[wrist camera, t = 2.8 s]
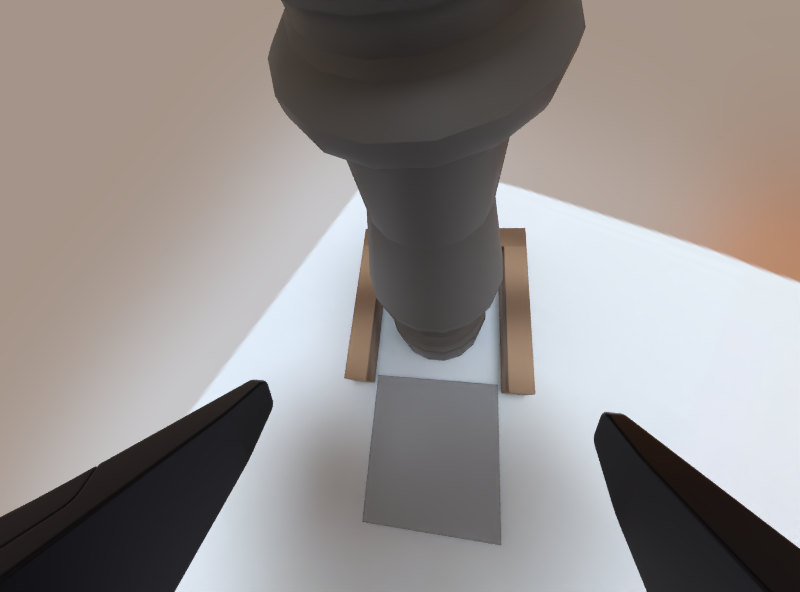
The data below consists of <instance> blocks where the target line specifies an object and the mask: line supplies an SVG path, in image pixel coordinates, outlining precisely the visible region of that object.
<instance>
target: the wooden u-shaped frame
mask: <svg viewBox="0 0 800 592" xmlns="http://www.w3.org/2000/svg"><path fill="white" fill-rule="evenodd" d="M499 233H500V240H501V247H502V258H503V280H502V282H501V284H500V287H499V305H500V345H501V386H502V393H505V394H517V395H533V394H535V382H534V366H533V349H532V332H531V316H530V299H529V283H528V266H527V249H526V233H525V228H499ZM382 312H383V305H382V304H381V303H380V302H379V301H378V299H377V298H376V295H375V291H374V288H373V284H372V281H371V277H370V267H369V243H368V229H366V232H365V239H364V246H363V253H362V260H361V267H360V274H359V280H358V287H357V294H356V301H355V308H354V315H353V322H352V329H351V335H350V342H349V349H348V356H347V363H346V370H345V377H344V378H346V379H350V380H355V381H366V382H375V374H376V365H377V356H378V347H379V338H380V330H381V321H382Z"/></svg>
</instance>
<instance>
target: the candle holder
mask: <svg viewBox="0 0 800 592" xmlns="http://www.w3.org/2000/svg"><path fill="white" fill-rule="evenodd" d="M281 1H282V2H283V4H284V7H285V9H284V12H283V15H282V17H281V20H280V23H279V25H278V28H277V31H276V33H275V36H274V39H273V42H272V45H271V48H270V52H269V56H268V61H269V67H270V71H271V77H272V82H273V87H274V92H275V96H276V98H277V100H278V102H279V103H280V105H281V107H282V109H283V110H284V112H285V113H286V115H287V116H288V117H289V118H290V119H291V120H292V121H293V122H294V123H295V124H296V125H297V126H298V127H299V128H300V129H301V130H302V131H303V132H304V133H305V134H306V135H307V136H308V137H309V138H310V139H311V140H312V141H313V142H314V143H315V144H316V145H317V146H318V147H319V148H320V149H321V150H322V151H323V152H325V153H327V154H330V155H333V156H336V157H339V158H342V159H345V160H347V163H348V165H349V167H350V170H351V172H352V175H353V177H354V180H355V182H356V184H357V186H358V189H359V192H360V194H361V197H362V199H363V201H364V204H365V206H366V209H367V223H368V243H369V267H370V277H371V281H372V284H373V288H374V291H375V295H376V298H377V299H378V301H379V302H380V303H381V304H382V305H383V307H384V308H385V309H386V310H387V311H388V313H389V314H390V315H391V316H392V317H393V319H394V320H395V324H396V327H397V330H398V332H399V333H400V334H401V336H402V337H403V339H404V340H405V341H406V343H407V344H408V345H409V346H410V347H411V349H412V350H413V351H414V352H416V353H418V354H420V355H422V356H423V357H425V358H427V359H434V360H448V359H451V358H454V357H457V356H460V355H462V354H463V353H464V352H465V351H466V350H467V349H469V348H470V347H471V346H472V345H473V343H474V341H475V339H476V337H477V335H478V333H479V331H480V329H481V326H482V324H483V322H484V320H485V311H486V310H487V309H488V308H490V306H491V304H492V302H493V299H494V297H495V295H496V293H497V291H498V289H499V287H500V284H501V282H502V280H503V258H502V247H501V240H500V233H499V224H498V215H497V207H496V198H495V195H496V191H497V187H498V183H499V179H500V175H501V171H502V166H503V162H504V158H505V154H506V149H507V145H508V142H509V137H510V136H511V135H512V134H513V133H515V132H516V131H517V130H519V129H520V128H521V127H522V126H524V125H525V124H526V123H528V122H529V121H530V120H531V119H533V118H534V117H535V116H537V115H538V114H539V113H540V112H542V111H543V110H544V109H545V108H546V107H547V105H548V104H549V102H550V101H551V99H552V97H553V96H554V94H555V92H556V90H557V88H558V85H559V84H560V82H561V80H562V78H563V76H564V74H565V72H566V70H567V68H568V66H569V64H570V62H571V60H572V58H573V56H574V54H575V52H576V50H577V48H578V46H579V43H580V41H581V38H582V35H583V33H584V30H585V20H584V14H583V8H582V1H581V0H281Z"/></svg>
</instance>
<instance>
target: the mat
mask: <svg viewBox="0 0 800 592" xmlns="http://www.w3.org/2000/svg"><path fill="white" fill-rule="evenodd" d="M362 522H367V523H373V524H379V525H385V526H391V527H397V528H403V529H408V530H414V531H420V532H426V533H432V534H438V535H444V536H450V537H456V538H462V539H467V540H473V541H479V542H485V543H491V544H497V545H501V522H500V473H499V425H498V385H492V384H480V383H467V382H455V381H443V380H431V379H419V378H406V377H394V376H382V375H378V384H377V393H376V402H375V411H374V420H373V430H372V439H371V448H370V457H369V466H368V476H367V485H366V494H365V503H364V512H363V521H362Z"/></svg>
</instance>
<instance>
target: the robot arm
mask: <svg viewBox="0 0 800 592" xmlns="http://www.w3.org/2000/svg"><path fill="white" fill-rule="evenodd" d="M272 407H273V400H272V396H271V393H270V390H269V387H268V384H267V382H266V381H263V380H250V381H248V382H246V383H245V384H243V385H241V386H239V387H237V388H236V389H234V390H232V391H230V392H228V393H227V394H225V395H223V396H221V397H219V398H218V399H216V400H214V401H212V402H210V403H209V404H207V405H205V406H203V407H201V408H200V409H198V410H196V411H194V412H192V413H191V414H189V415H187V416H185V417H183V418H182V419H180V420H178V421H176V422H174V423H173V424H171V425H169V426H167V427H166V428H164V429H162V430H160V431H158V432H157V433H155V434H153V435H151V436H149V437H148V438H146V439H144V440H142V441H140V442H138V443H137V444H135V445H133V446H131V447H130V448H128V449H126V450H124V451H122V452H121V453H119V454H117V455H115V456H113V457H111V458H110V459H108V460H106V461H104V462H102V463H101V464H99V465H98V467H93V468H92V469H90V470H88V471H86V472H84V473H83V474H81V475H79V476H77V477H76V478H74V479H72V480H70V481H68V482H66V483H65V484H63V485H61V486H59V487H57V488H55V489H54V490H52V491H50V492H48V493H46V494H44V495H42V496H40V497H39V498H37V499H35V500H33V501H31V502H29V503H27V504H25V505H23V506H21V507H20V508H17V509H15V510H13V511H11V512H9V513H7V514H5V515H4V516H2V517H0V592H175V590H176V588H177V587H178V585H179V583H180V581H181V579H182V578H183V576H184V574H185V572H186V571H187V569H188V567H189V565H190V564H191V562H192V560H193V558H194V556H195V555H196V553H197V551H198V549H199V548H200V546H201V544H202V542H203V541H204V539H205V537H206V535H207V533H208V532H209V530H210V528H211V526H212V525H213V523H214V521H215V519H216V518H217V516H218V514H219V512H220V510H221V509H222V507H223V505H224V503H225V502H226V500H227V498H228V496H229V495H230V493H231V491H232V489H233V487H234V486H235V484H236V482H237V480H238V479H239V477H240V475H241V473H242V472H243V470H244V468H245V466H246V464H247V462H248V460H249V458H250V456H251V454H252V452H253V450H254V448H255V446H256V443H257V441H258V439H259V437H260V435H261V432H262V430H263V428H264V426H265V424H266V421H267V419H268V417H269V415H270V412H271V410H272ZM594 444H595V448H596V451H597V454H598V458H599V461H600V464H601V468H602V471H603V475H604V478H605V481H606V485H607V488H608V491H609V495H610V498H611V501H612V505H613V508H614V511H615V514H616V516H617V519H618V522H619V524H620V527H621V529H622V532H623V534H624V537H625V539H626V542H627V544H628V546H629V549H630V551H631V554H632V556H633V559H634V561H635V564H636V566H637V569H638V571H639V574H640V576H641V578H642V581H643V583H644V586H645V588H646V591H647V592H800V548H798V547H797V546H796V545H794V544H793V543H792V542H790V541H789V540H788V539H787V538H785V537H784V536H783V535H781V534H780V533H779V532H777V531H776V530H775V529H773V528H772V527H771V526H770V525H768V524H767V523H766V522H764V521H763V520H762V519H760V518H759V517H758V516H756V515H755V514H754V513H753V512H751V511H750V510H749V509H747V508H746V507H745V506H743V505H742V504H741V503H739V502H738V501H737V500H736V499H734V498H733V497H732V496H730V495H729V494H728V493H726V492H725V491H724V490H722V489H721V488H720V487H719V486H717V485H716V484H715V483H713V482H712V481H711V480H709V479H708V478H707V477H705V476H704V475H703V474H702V473H700V472H699V471H698V470H696V469H695V468H694V467H692V466H691V465H690V464H689V463H687V462H686V461H685V460H683V459H682V458H681V457H679V456H678V455H677V454H675V453H674V452H673V451H672V450H670V449H669V448H668V447H666V446H665V445H664V444H662V443H661V442H660V441H658V440H657V439H656V438H655V437H653V436H652V435H651V434H649V433H648V432H647V431H645V430H644V429H643V428H641V427H640V426H639V425H638V424H636V423H635V422H634V421H632V420H631V419H630V418H628V417H627V416H626V415H624V414H621V413H611V412H604V413H603V414H602V415H601V417H600V420H599V423H598V426H597V428H596V431H595V434H594Z"/></svg>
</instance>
